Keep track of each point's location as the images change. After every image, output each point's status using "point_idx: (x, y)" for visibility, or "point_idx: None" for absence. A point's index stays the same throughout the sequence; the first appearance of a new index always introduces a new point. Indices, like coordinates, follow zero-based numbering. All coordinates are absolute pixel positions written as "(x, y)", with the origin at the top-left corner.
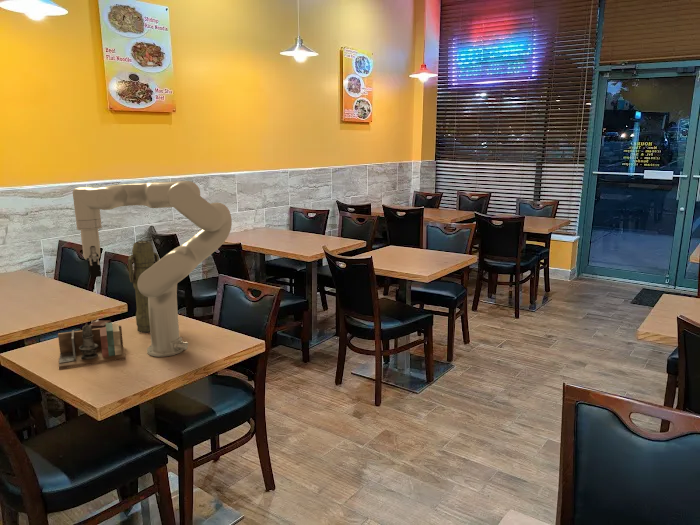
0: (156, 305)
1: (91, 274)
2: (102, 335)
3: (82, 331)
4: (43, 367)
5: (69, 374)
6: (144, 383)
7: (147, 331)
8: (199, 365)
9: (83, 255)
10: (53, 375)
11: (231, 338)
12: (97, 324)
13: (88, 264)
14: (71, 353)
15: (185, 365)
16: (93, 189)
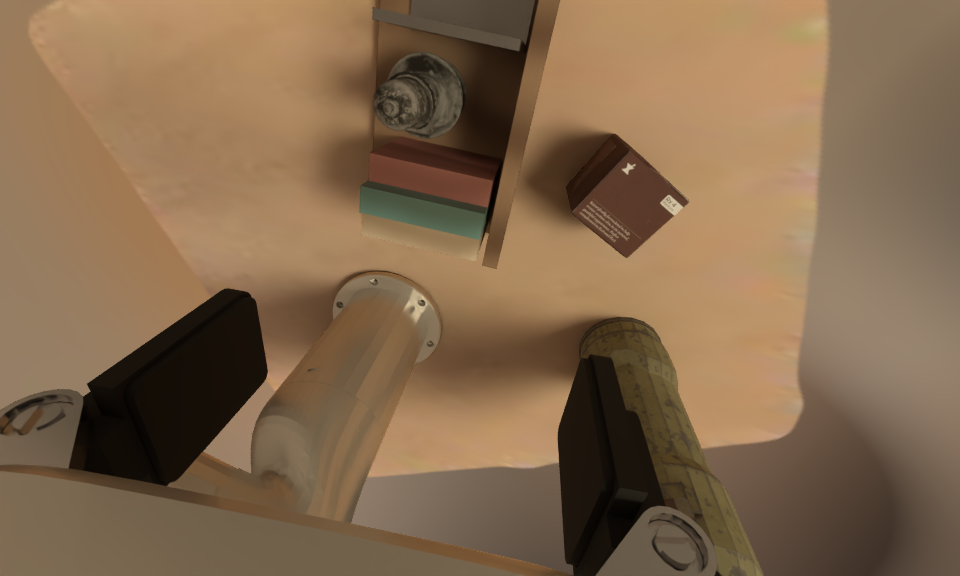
0: (261, 416)
1: (207, 311)
2: (376, 164)
3: (400, 79)
4: None
5: None
6: (165, 191)
7: (585, 337)
8: None
9: (382, 574)
10: None
11: (393, 453)
12: (611, 193)
13: (607, 428)
14: (506, 26)
15: (258, 315)
16: None
